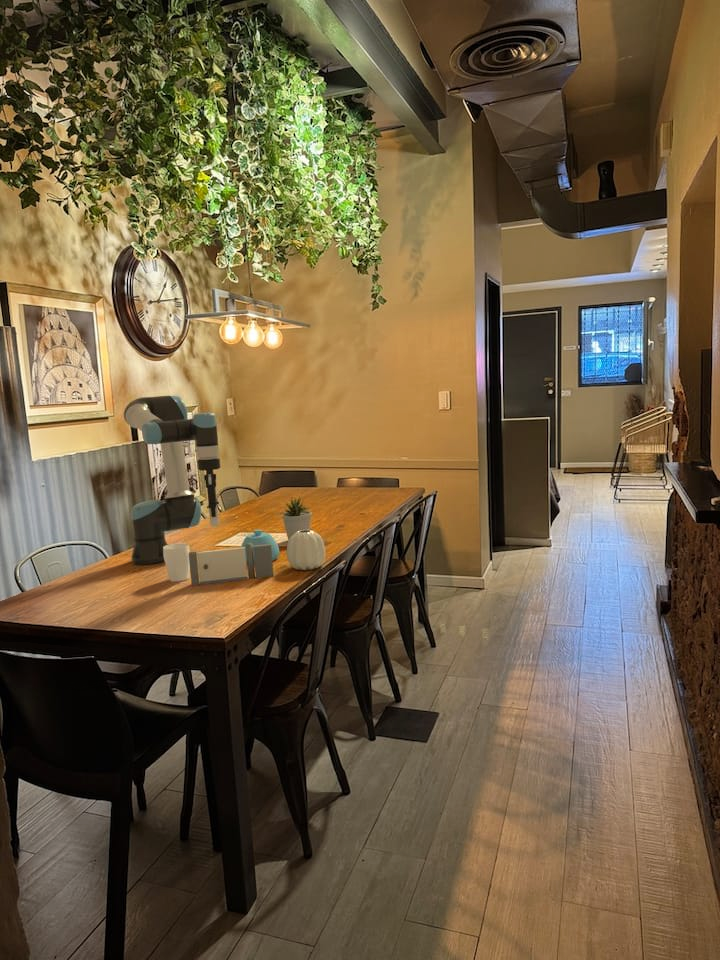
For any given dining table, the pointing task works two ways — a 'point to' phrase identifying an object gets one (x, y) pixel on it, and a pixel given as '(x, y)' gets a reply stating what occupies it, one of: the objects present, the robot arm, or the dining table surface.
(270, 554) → the grey u-shaped bar
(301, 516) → the potted plant
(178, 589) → the dining table surface
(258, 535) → the sugar bowl
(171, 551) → the cup
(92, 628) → the dining table surface
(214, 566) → the curved cream plank
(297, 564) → the vase
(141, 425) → the robot arm
